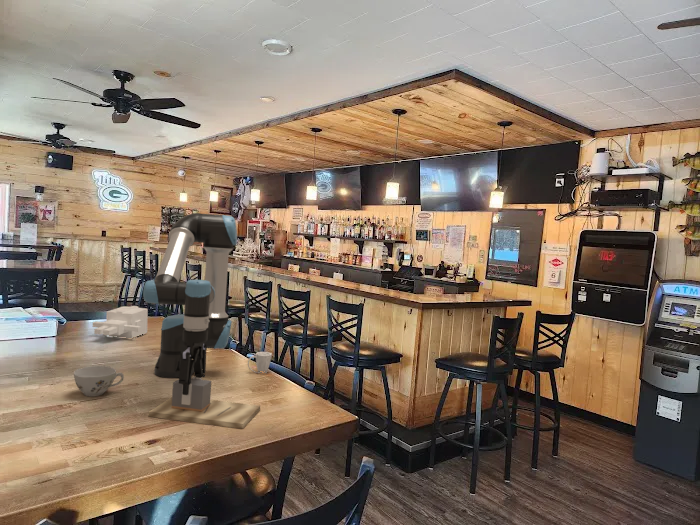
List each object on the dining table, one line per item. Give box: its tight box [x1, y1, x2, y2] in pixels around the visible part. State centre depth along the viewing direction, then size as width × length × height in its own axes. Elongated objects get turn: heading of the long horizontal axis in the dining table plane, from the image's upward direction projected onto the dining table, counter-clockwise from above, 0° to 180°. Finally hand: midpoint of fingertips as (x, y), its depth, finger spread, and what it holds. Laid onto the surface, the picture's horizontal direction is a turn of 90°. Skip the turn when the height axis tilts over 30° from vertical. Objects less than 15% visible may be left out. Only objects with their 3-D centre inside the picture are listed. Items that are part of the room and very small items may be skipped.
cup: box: [247, 351, 273, 374], centre depth 195 cm, size 7×10×8 cm
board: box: [148, 397, 261, 430], centre depth 147 cm, size 30×16×2 cm, turn 83°
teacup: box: [73, 365, 125, 397], centre depth 157 cm, size 15×12×8 cm
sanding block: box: [171, 377, 212, 412], centre depth 147 cm, size 10×6×8 cm, turn 82°
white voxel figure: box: [92, 305, 149, 338], centre depth 237 cm, size 15×25×28 cm
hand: (191, 400), depth 148 cm, fingers closed on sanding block, 6 cm apart
